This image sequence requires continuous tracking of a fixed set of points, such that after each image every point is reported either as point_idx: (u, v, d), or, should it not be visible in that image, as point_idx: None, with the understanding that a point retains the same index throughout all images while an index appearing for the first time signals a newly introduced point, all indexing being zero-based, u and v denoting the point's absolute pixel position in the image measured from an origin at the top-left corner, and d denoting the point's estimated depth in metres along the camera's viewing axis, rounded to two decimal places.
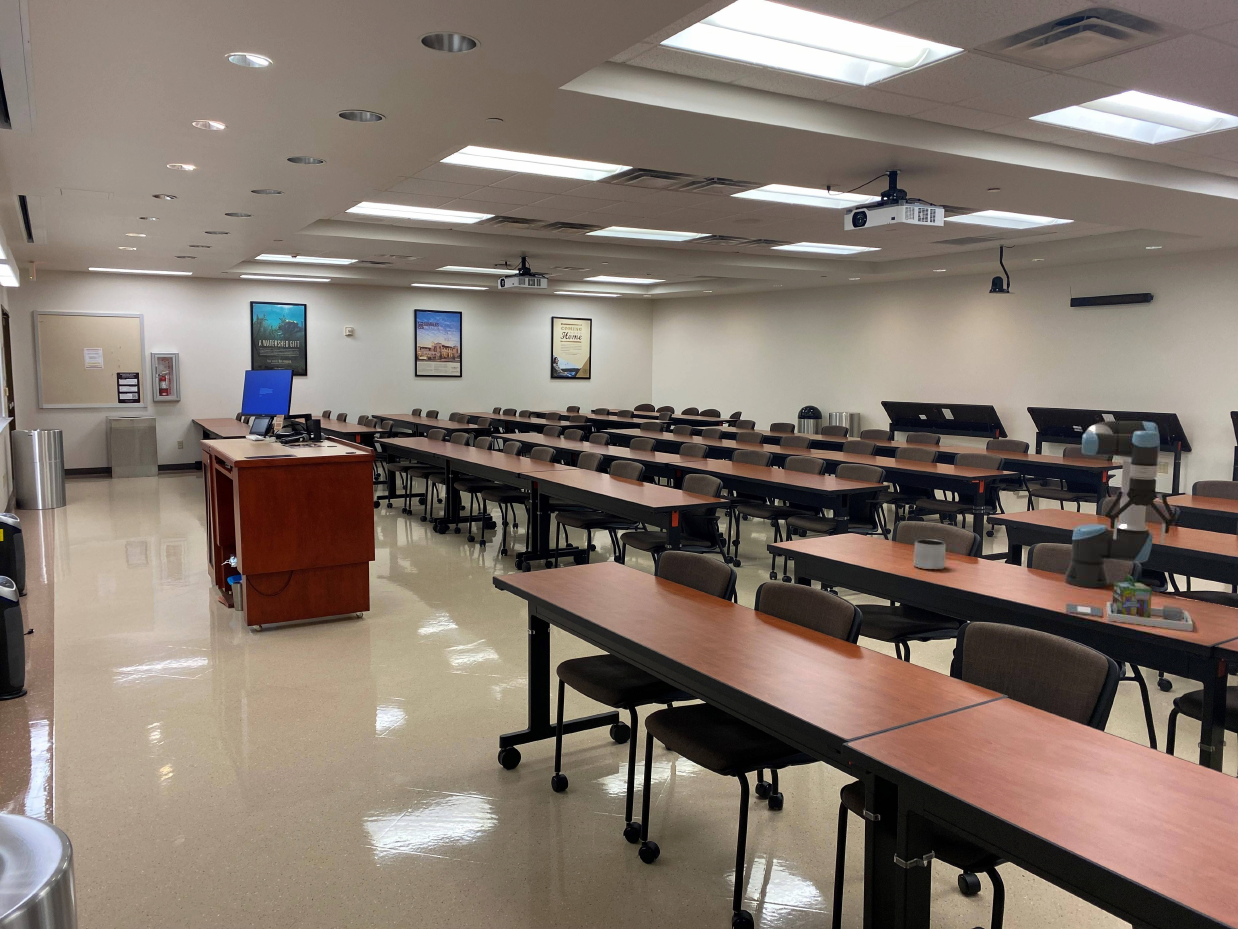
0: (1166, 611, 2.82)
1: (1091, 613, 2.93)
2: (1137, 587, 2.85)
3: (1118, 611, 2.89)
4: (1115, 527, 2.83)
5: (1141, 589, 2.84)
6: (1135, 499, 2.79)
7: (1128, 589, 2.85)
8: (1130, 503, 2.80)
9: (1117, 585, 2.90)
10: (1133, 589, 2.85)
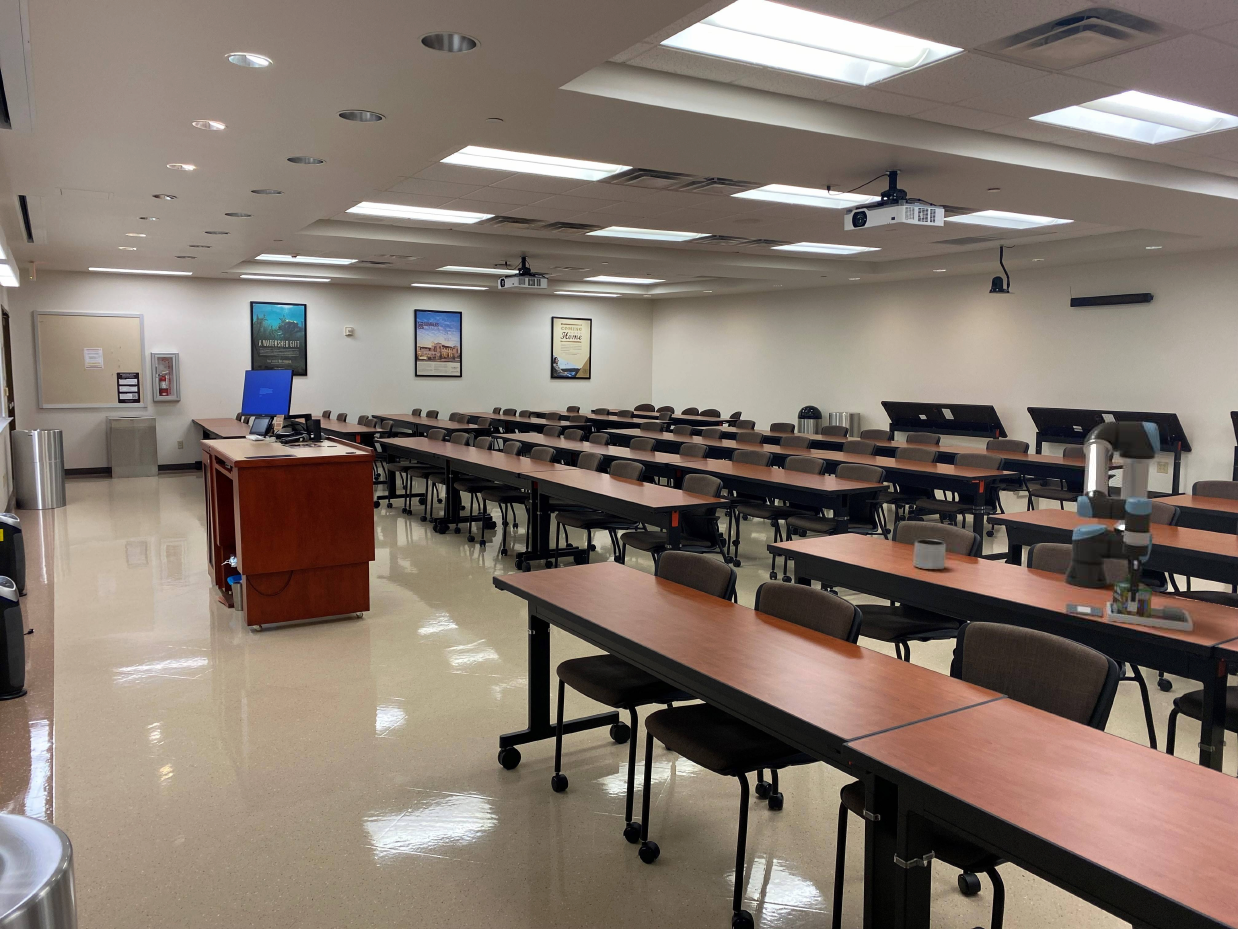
0: (1166, 611, 2.82)
1: (1091, 613, 2.93)
2: None
3: (1118, 611, 2.89)
4: None
5: (1141, 589, 2.84)
6: None
7: (1128, 589, 2.85)
8: None
9: (1117, 585, 2.90)
10: None
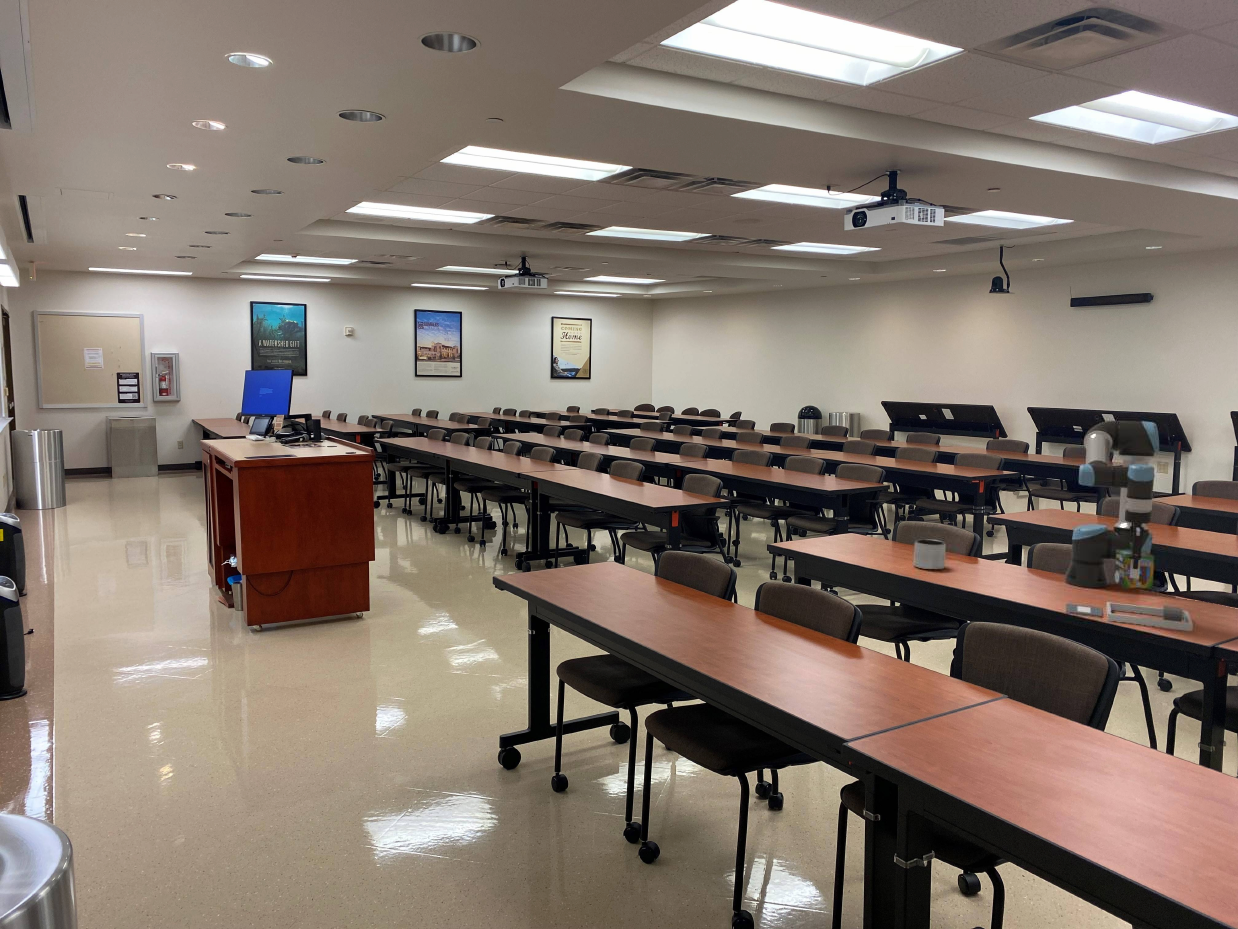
0: (1166, 611, 2.82)
1: (1091, 613, 2.93)
2: None
3: (1120, 579, 2.88)
4: None
5: (1143, 556, 2.83)
6: None
7: (1130, 556, 2.84)
8: (1130, 534, 2.90)
9: (1119, 552, 2.89)
10: None
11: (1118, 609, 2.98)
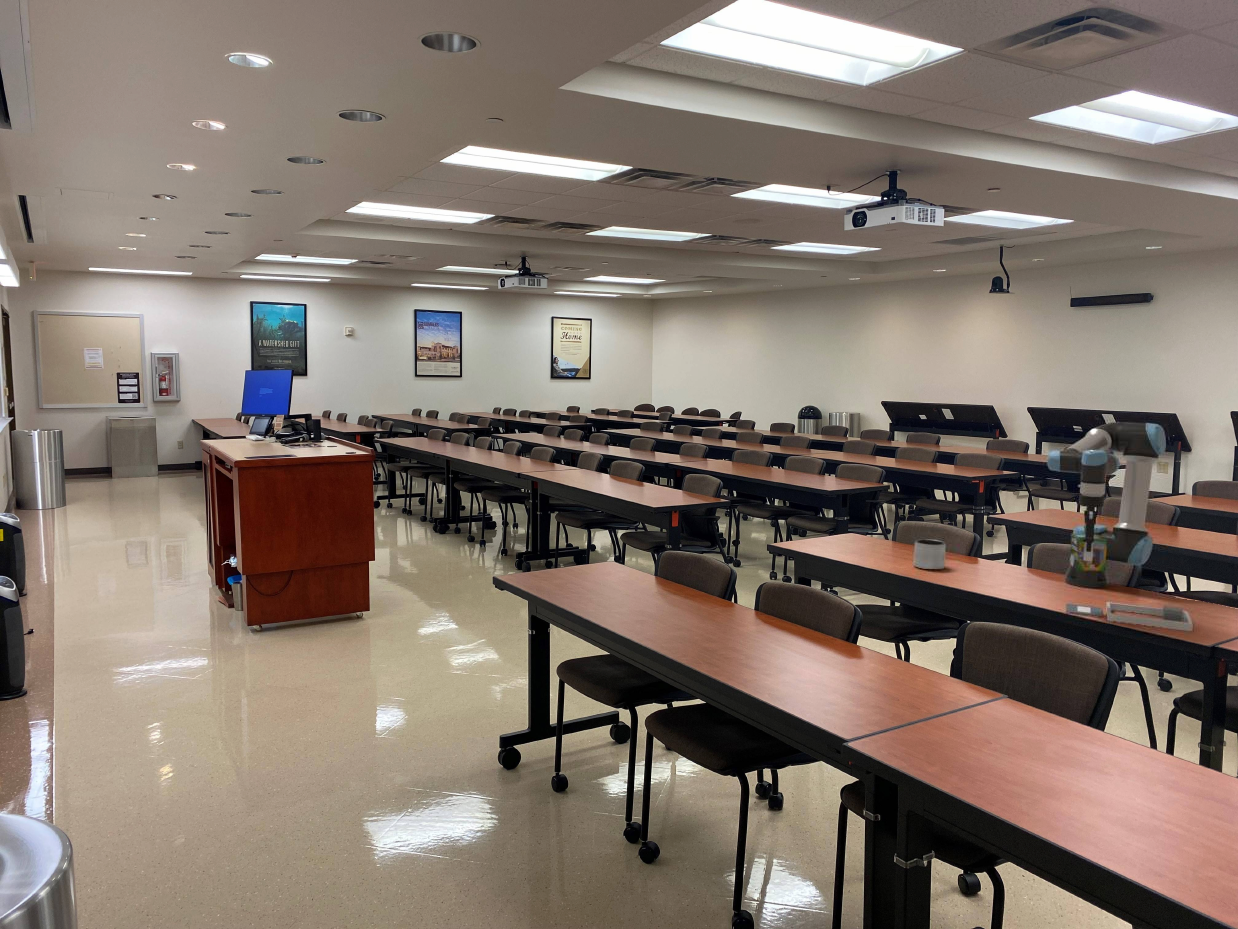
0: (1166, 611, 2.82)
1: (1091, 613, 2.93)
2: None
3: (1074, 562, 2.95)
4: None
5: (1097, 539, 2.90)
6: None
7: (1084, 539, 2.90)
8: None
9: (1074, 536, 2.96)
10: None
11: (1118, 609, 2.98)
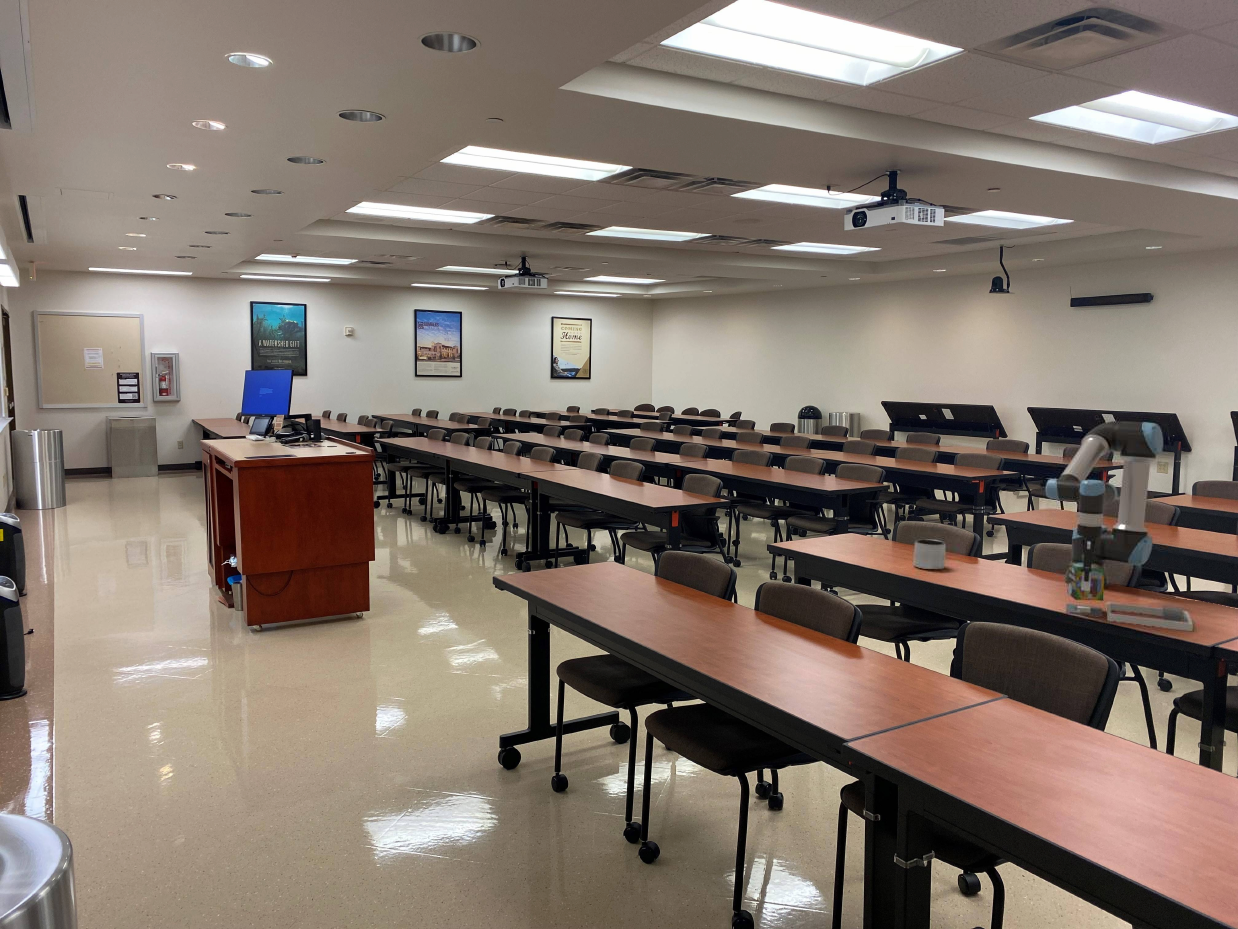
0: (1166, 611, 2.82)
1: (1091, 613, 2.93)
2: (1091, 567, 2.92)
3: (1072, 591, 2.96)
4: None
5: (1094, 569, 2.91)
6: None
7: (1082, 569, 2.92)
8: (1082, 547, 2.98)
9: (1072, 565, 2.97)
10: None
11: (1118, 609, 2.98)
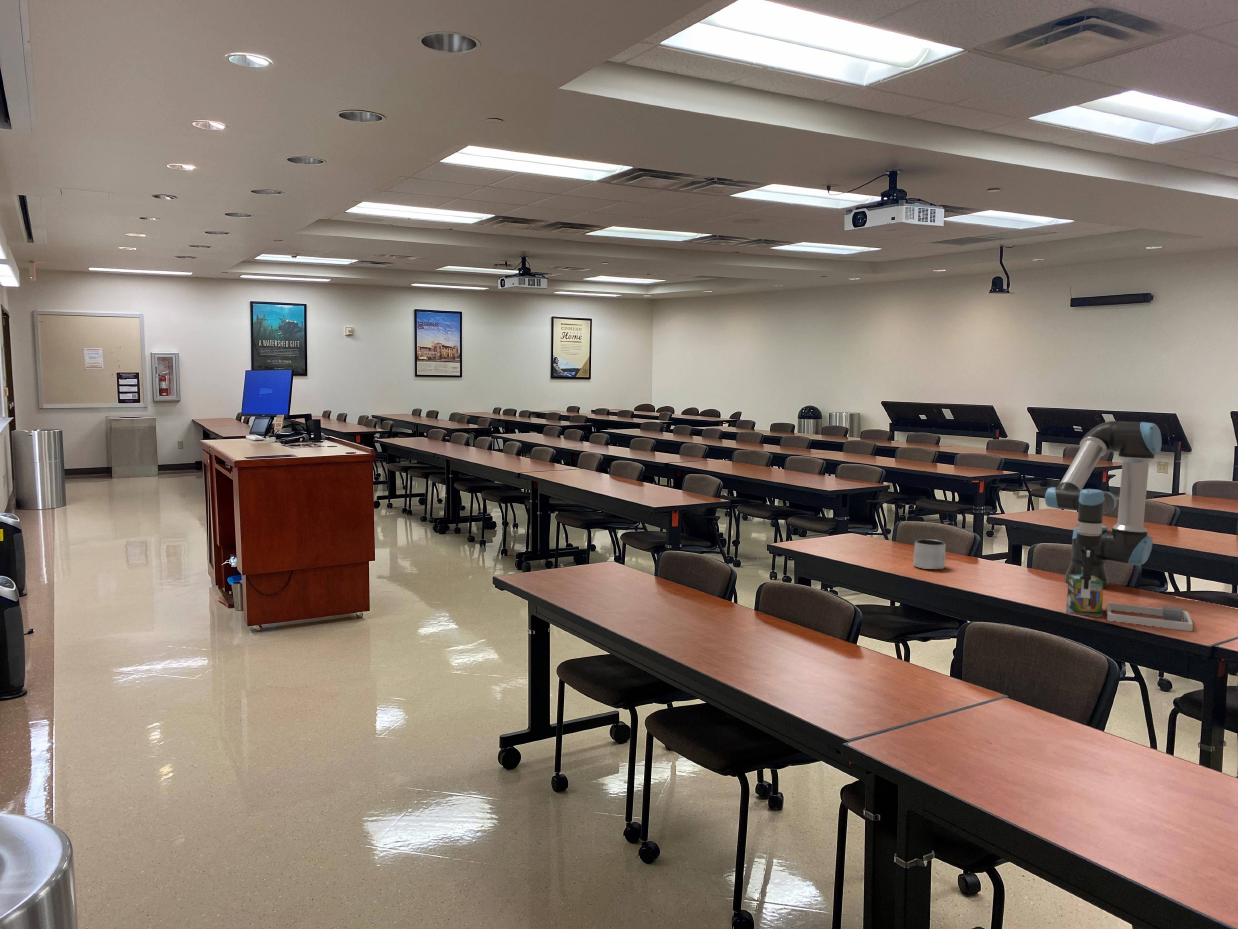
0: (1166, 611, 2.82)
1: (1091, 613, 2.93)
2: None
3: (1071, 603, 2.97)
4: None
5: (1093, 581, 2.92)
6: None
7: (1080, 581, 2.93)
8: None
9: (1071, 577, 2.98)
10: None
11: (1118, 609, 2.98)
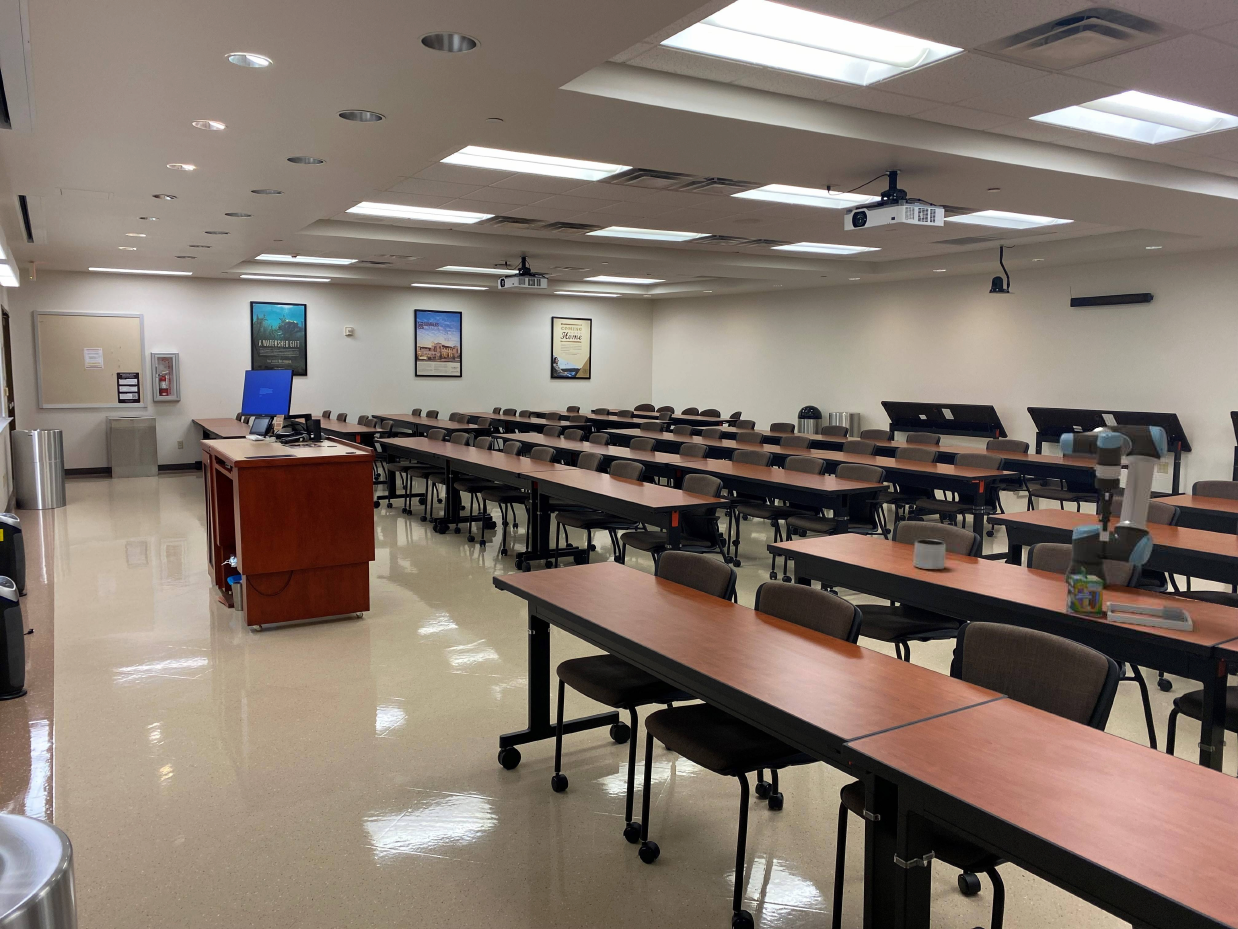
0: (1166, 611, 2.82)
1: (1091, 613, 2.93)
2: (1089, 579, 2.93)
3: (1071, 603, 2.97)
4: None
5: (1093, 581, 2.92)
6: None
7: (1080, 581, 2.93)
8: None
9: (1071, 577, 2.98)
10: (1085, 581, 2.92)
11: (1118, 609, 2.98)
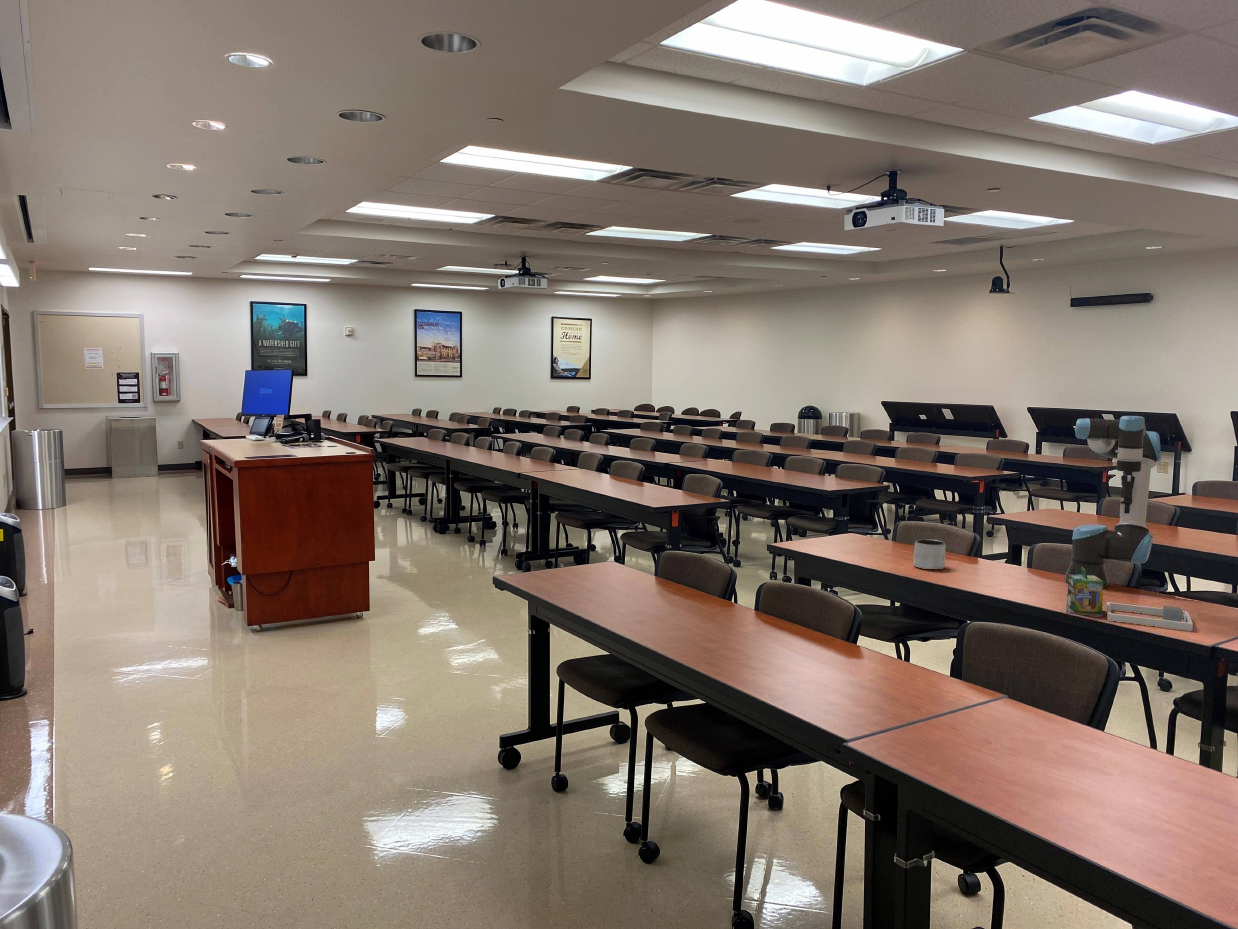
0: (1166, 611, 2.82)
1: (1091, 613, 2.93)
2: (1089, 579, 2.93)
3: (1071, 603, 2.97)
4: (1120, 504, 3.06)
5: (1093, 581, 2.92)
6: None
7: (1080, 581, 2.93)
8: (1121, 482, 3.02)
9: (1071, 577, 2.98)
10: (1085, 581, 2.92)
11: (1118, 609, 2.98)
